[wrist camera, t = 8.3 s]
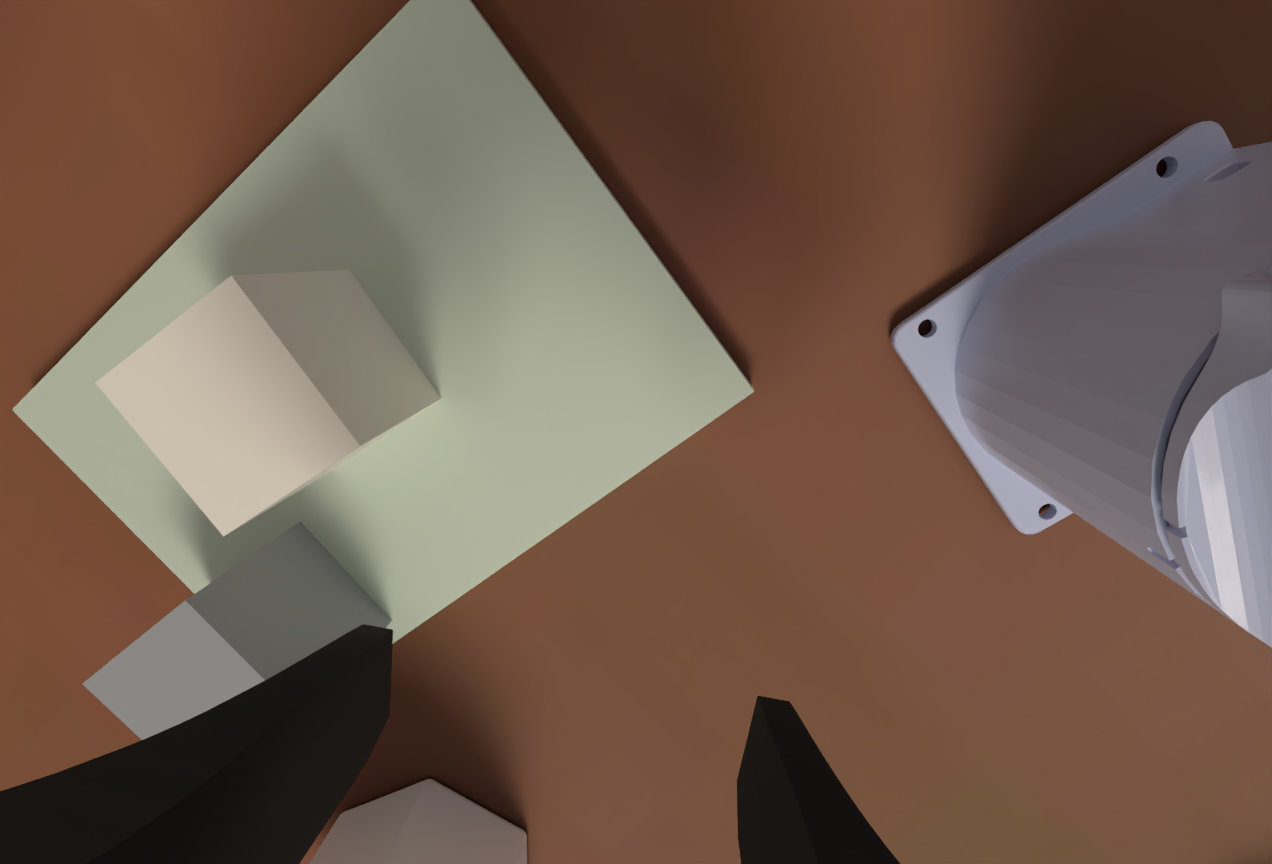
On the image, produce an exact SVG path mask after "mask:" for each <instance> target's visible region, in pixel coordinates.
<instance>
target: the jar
mask: <svg viewBox="0 0 1272 864" xmlns="http://www.w3.org/2000/svg"><path fill="white" fill-rule="evenodd" d="M309 864H527V835H526V832H525V831H524V830H523V829H521V828H519V827H517V826H515V825H514V824H512V823H510V822H508V821H506V820H505V819H503V818H501V817H499V816H497V815H496V814H494V813H492V812H490V811H488V810H487V809H485V808H483V807H481V806H480V805H478V804H476V803H474V802H472V801H471V800H469V799H467V798H465V797H463V796H462V795H460V794H458V793H456V792H454V791H453V790H451V789H449V788H447V787H445V786H444V785H442V784H440V783H438V782H437V781H435V780H433V779H426V780H423V781H421V782H418V783H416V784H413V785H411V786H408V787H406V788H403V789H401V790H398V791H396V792H393V793H391V794H388V795H386V796H383V797H381V798H378V799H375V800H373V801H370V802H368V803H365V804H363V805H360V806H358V807H355V808H352V809H350V810H347V811H345V812H343V813H341V814H340V815H339V817H338V818H337V820H336V821H335V823H334V825H333V826H332V828H331V829H330V831H329V833H328V834H327V836H326V837H325V839H324V841H323V842H322V844H321V845H320V847H319V849H318V850H317V852H316V853H315V855H314V857H313V858H312V860H311V861H310V863H309Z"/></svg>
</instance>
